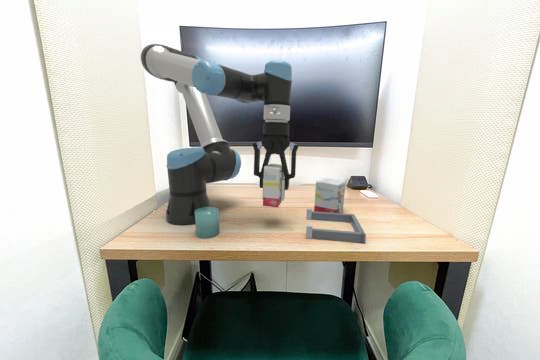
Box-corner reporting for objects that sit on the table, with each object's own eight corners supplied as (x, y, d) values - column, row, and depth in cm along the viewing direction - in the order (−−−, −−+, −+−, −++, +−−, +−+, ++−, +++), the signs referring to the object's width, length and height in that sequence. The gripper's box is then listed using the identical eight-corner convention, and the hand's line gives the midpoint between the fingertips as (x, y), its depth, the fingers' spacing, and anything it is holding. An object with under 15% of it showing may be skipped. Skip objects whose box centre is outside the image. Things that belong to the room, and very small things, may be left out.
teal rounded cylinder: (191, 237, 58) (190, 213, 57) (203, 227, 64) (201, 206, 63) (213, 239, 57) (212, 215, 56) (222, 229, 63) (222, 207, 62)
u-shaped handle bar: (305, 238, 58) (306, 226, 57) (306, 217, 73) (306, 207, 72) (365, 243, 55) (366, 231, 55) (353, 221, 70) (354, 210, 70)
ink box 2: (335, 217, 74) (338, 184, 71) (313, 211, 79) (314, 180, 76) (343, 210, 80) (346, 180, 78) (322, 206, 85) (324, 177, 83)
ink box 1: (278, 208, 62) (279, 168, 59) (262, 206, 63) (262, 167, 60) (283, 199, 70) (285, 164, 67) (269, 198, 71) (270, 163, 68)
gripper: (242, 120, 59) (242, 199, 64) (308, 121, 56) (302, 205, 61) (249, 121, 66) (248, 193, 71) (308, 123, 63) (303, 197, 68)
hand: (273, 198), depth 66 cm, fingers closed on ink box 1, 5 cm apart
